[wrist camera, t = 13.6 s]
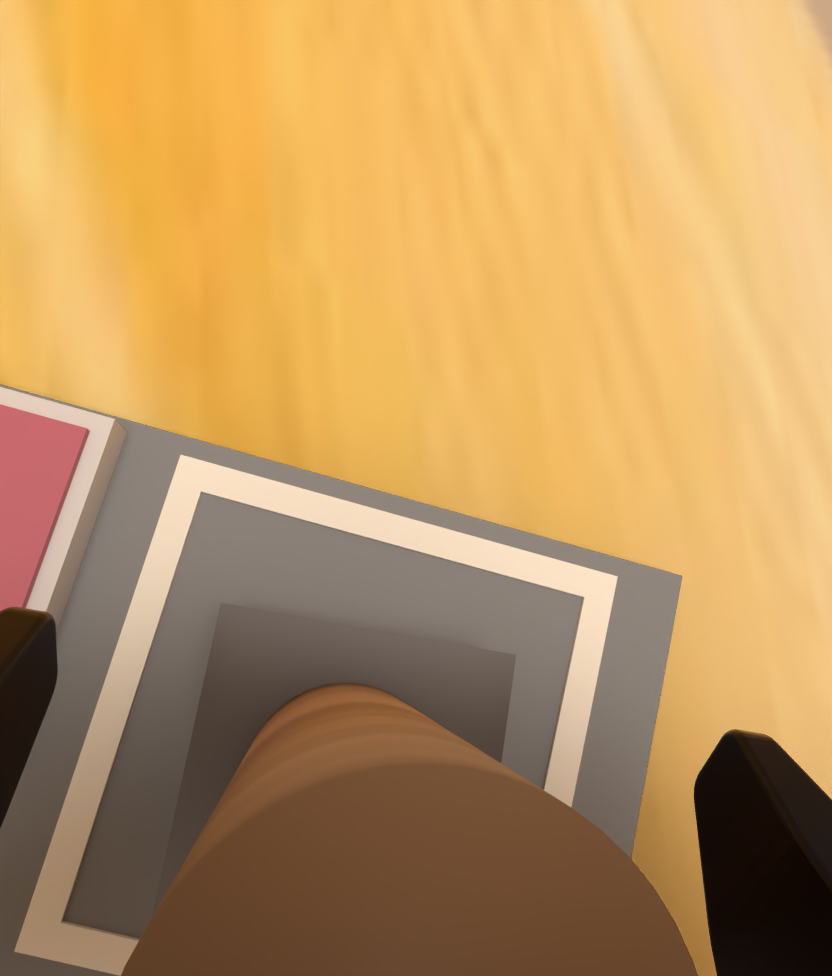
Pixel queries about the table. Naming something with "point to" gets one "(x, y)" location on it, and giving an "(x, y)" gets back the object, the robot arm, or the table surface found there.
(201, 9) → the table surface
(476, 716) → the stamp
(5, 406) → the stamp board
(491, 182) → the table surface
